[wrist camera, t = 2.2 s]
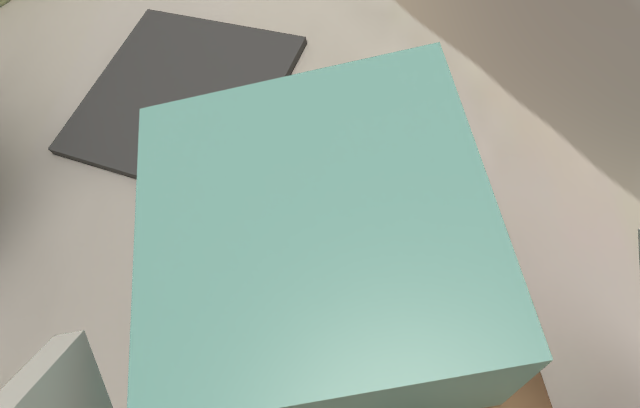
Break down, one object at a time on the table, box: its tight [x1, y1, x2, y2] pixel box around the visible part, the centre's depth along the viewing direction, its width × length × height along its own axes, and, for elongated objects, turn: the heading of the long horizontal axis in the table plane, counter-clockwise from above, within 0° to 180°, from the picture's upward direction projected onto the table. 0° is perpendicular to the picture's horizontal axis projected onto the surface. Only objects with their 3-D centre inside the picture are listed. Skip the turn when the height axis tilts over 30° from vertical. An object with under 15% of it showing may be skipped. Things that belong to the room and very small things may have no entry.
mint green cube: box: [127, 42, 553, 408], centre depth 16 cm, size 9×9×7 cm
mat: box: [48, 9, 307, 179], centre depth 31 cm, size 12×12×1 cm
